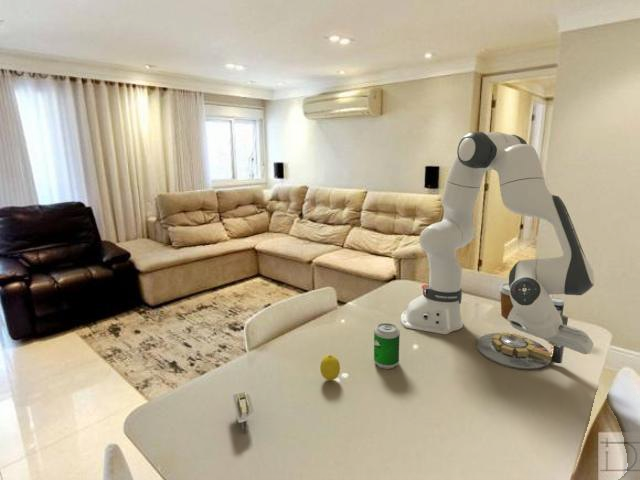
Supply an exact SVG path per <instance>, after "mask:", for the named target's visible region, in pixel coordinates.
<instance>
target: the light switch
mask: <svg viewBox="0 0 640 480" xmlns="http://www.w3.org/2000/svg"><path fill="white" fill-rule="evenodd" d="M232 398H233V403H234V408H235V413H236V418H237V422H238V423H240V425H241V428H242V433H243V434H245V427H244V422H246V421H248V420H249V418H251V417H252V416H253V415H254V414H255V411H254V407H253V402H252V399H251V396H250V394H249V393H246V391H241V392H237V393H236V394H233V395H232ZM242 400H245V411H243V406H242V403H241V401H242Z"/></svg>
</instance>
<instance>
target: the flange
mask: <svg viewBox="0 0 640 480" xmlns="http://www.w3.org/2000/svg"><path fill="white" fill-rule="evenodd" d="M499 333H500V332H491V333H487V334H483V335H481V336H480V337H479V338H478V339H477V340H476V341H477V342H476V349H477V350H478V352H479V353H480V354H481V355H482V356H483V357H484V358H486V359H487V360H489V361H491V362H493V363H496V364H497V365H501V366H504V367H506V368H509V369H516V370H522V371H523V370H525V371H533V370H534V371H535V370H539V369H540V370H541V369H544V368H546V367H547V366H549V365H550V364H551V361H550V360H547V359H544V358H541V357H538V356H534V355H529V354H528V357H517V356H516V355H515V354H513V355H512V356H511V355H508V354H505V353H502V352H501V350H496V348H495V347H494V346H493V345H492V337H493V336H494V335H495V334H498V335H499ZM510 334H511V335H513V334H514V333H510ZM525 339H530V340H531V341H532V342H533V343H534V344H535V345H534V346H535V348H537V349H540V350H543V351H546V352H550V351H549V350H548V349H547V347H545V346H544V345H542V344H541V343H539V342H538V341H535V340H534V339H533V340H532V339H531V338H528V337H525ZM500 342H501V343H502V344H503V345H506V346H509V347H512V348H514V353H515V348H526V342H525V341H524V340H523V339H521V338H518V337H515V336H503V337H501V341H500Z"/></svg>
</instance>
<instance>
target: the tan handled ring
mask: <svg viewBox="0 0 640 480" xmlns="http://www.w3.org/2000/svg"><path fill="white" fill-rule="evenodd" d="M560 316H561V318H562V322H563V324H564V325H567V326H568V322H569V317H568V316H566V315H560ZM498 333H499V335H498V334H495V335H494V336H493V337H492V345H493V346H494V347H495V348H496V350H501V352H502V353H505V354H508V355H511V356H512V355H513V354H515V355H516V356H517V357H528V354H529V355H534V356H538V357H541V358H544V359H547V360H550V362H552V363H554V364H562V363H563V358H564V350H565V349H564V348H565V347H564V346H561V347H560V348H559V347H556V346H554V345H551V350H550V351H549V352H546V351H543V350H540V349H537V348H535V346H534V345H535V344H534V343H533V342H532V341H531V340H532V339H531V338H528V339H525V338H526V337H525V336H524V335H520V334H517V333H510V332H498ZM511 334H513V335H511ZM503 336H515V337H518V338H521V339H523V340H524V341H525V342H526V348H515V353H514V348H512V347H509V346H506V345H503V344H502V343H501V342H500V341H501V337H503ZM530 339H531V340H530Z"/></svg>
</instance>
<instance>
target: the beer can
mask: <svg viewBox="0 0 640 480" xmlns="http://www.w3.org/2000/svg"><path fill="white" fill-rule="evenodd" d="M551 299H552V301H553V304H554V306H555V307H556V309H557V311H558V313H559V314H560V315H563V314H564V306H565V301H564V300H563V299H561V298H558V297H551Z"/></svg>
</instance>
